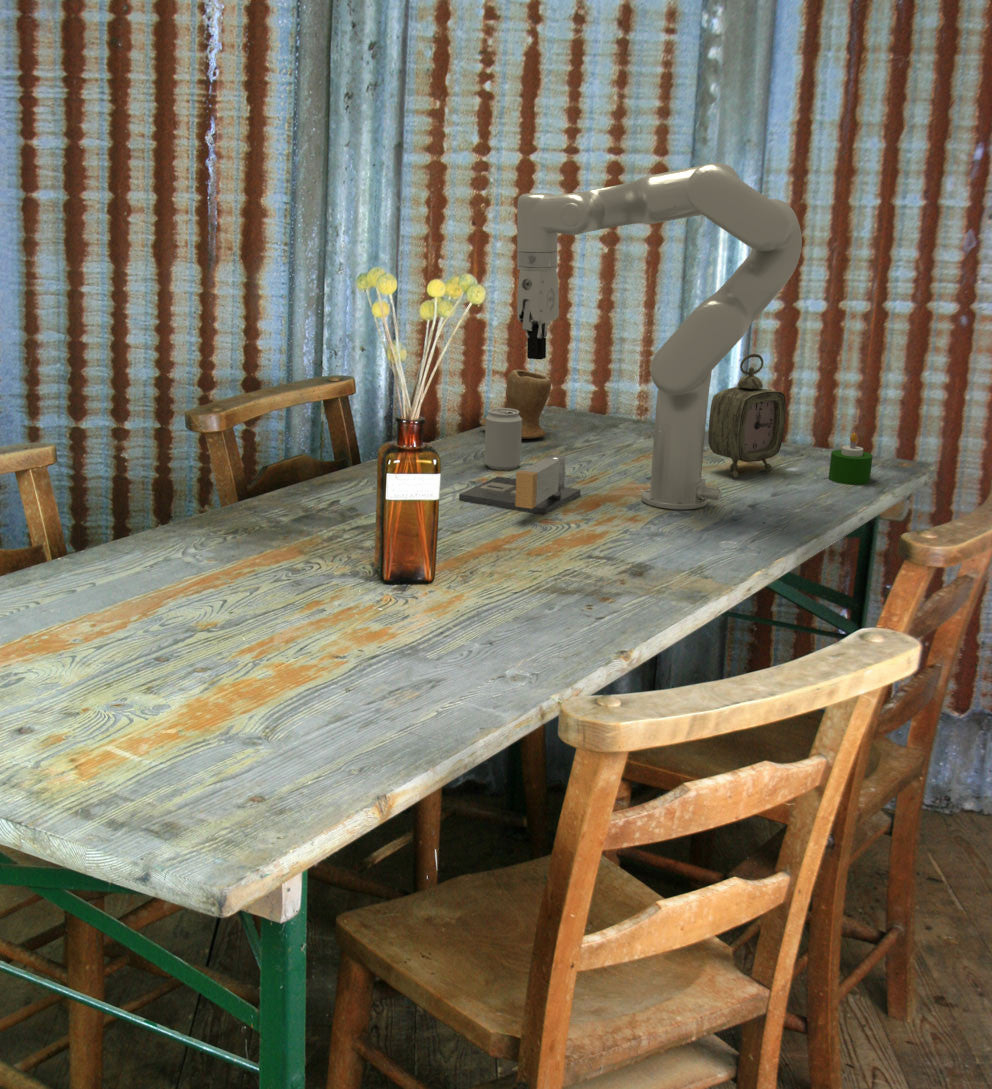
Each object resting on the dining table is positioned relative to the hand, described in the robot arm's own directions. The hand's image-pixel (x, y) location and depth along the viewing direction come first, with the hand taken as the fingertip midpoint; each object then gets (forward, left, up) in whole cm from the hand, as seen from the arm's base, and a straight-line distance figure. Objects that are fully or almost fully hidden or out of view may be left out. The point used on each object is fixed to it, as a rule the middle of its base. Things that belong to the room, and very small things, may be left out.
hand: (536, 358), depth 255 cm
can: (+12, -11, -26) cm, 30 cm away
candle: (-53, -42, -26) cm, 72 cm away
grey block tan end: (-9, +16, -22) cm, 29 cm away
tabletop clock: (-32, -35, -26) cm, 54 cm away
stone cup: (+22, -40, -26) cm, 52 cm away
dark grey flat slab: (-2, +9, -25) cm, 27 cm away
